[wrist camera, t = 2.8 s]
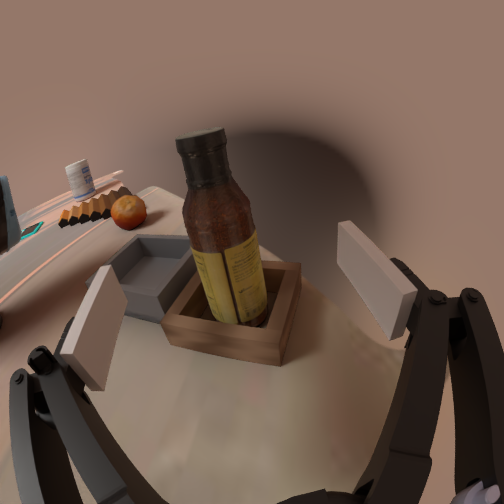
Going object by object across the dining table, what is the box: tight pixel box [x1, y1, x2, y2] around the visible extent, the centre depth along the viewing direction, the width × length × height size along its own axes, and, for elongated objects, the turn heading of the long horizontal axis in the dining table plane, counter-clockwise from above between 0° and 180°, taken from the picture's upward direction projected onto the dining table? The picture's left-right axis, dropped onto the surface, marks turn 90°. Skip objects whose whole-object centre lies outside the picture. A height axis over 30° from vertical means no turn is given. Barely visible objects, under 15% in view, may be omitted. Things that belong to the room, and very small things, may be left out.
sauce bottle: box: [176, 127, 268, 327], centre depth 25 cm, size 7×6×20 cm
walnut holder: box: [160, 260, 301, 367], centre depth 30 cm, size 12×12×4 cm
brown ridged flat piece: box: [58, 186, 133, 228], centre depth 68 cm, size 25×3×25 cm
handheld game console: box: [21, 221, 43, 240], centre depth 70 cm, size 10×16×1 cm, turn 113°
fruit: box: [111, 195, 147, 231], centre depth 56 cm, size 8×8×8 cm
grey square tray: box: [85, 234, 198, 324], centre depth 36 cm, size 13×13×4 cm
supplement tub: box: [66, 159, 96, 202], centre depth 87 cm, size 10×10×15 cm
